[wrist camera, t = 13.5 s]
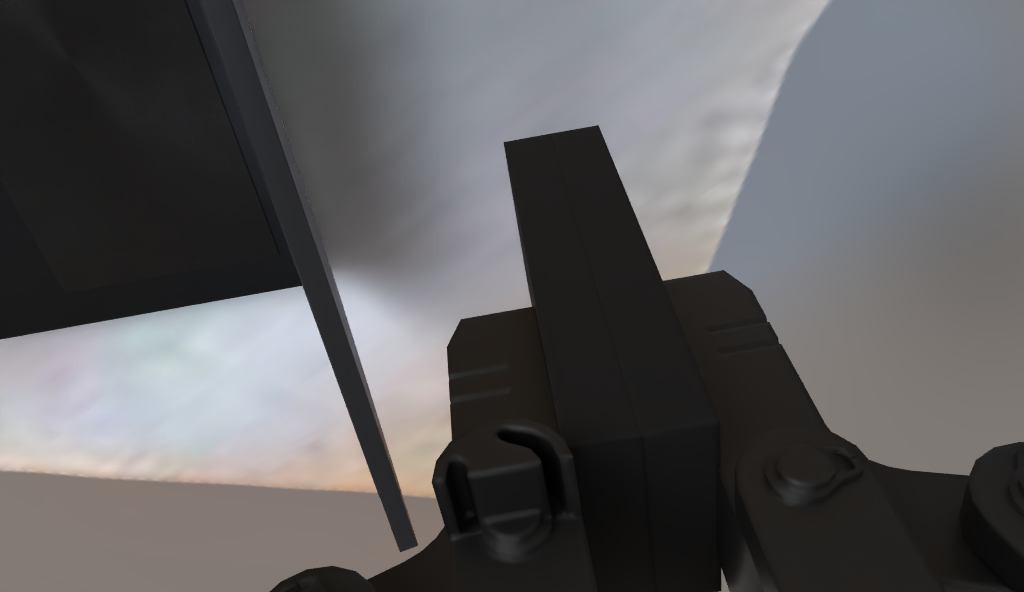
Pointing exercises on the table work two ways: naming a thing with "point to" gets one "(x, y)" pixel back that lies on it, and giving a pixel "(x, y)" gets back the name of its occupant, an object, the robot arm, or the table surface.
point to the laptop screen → (304, 244)
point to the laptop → (124, 168)
